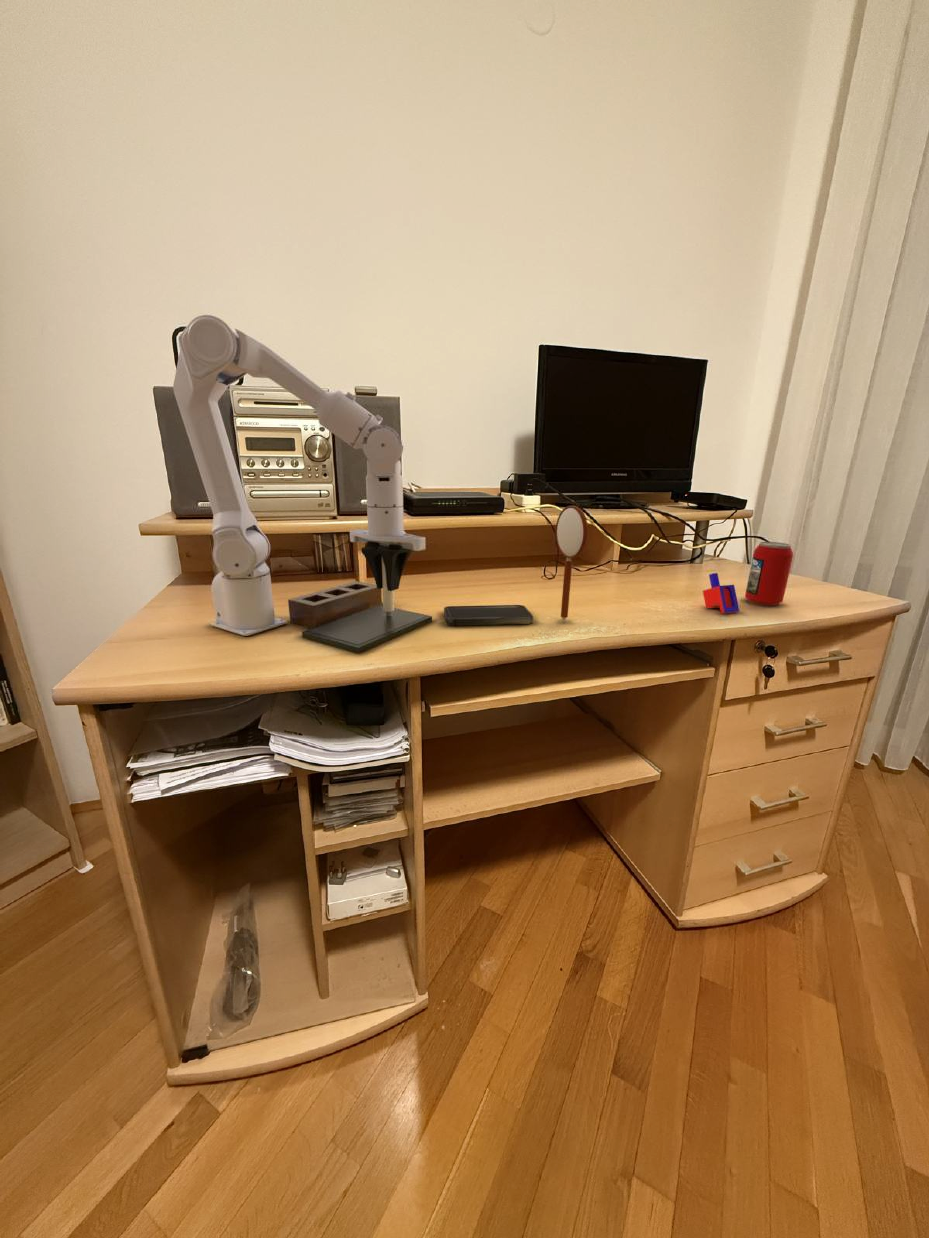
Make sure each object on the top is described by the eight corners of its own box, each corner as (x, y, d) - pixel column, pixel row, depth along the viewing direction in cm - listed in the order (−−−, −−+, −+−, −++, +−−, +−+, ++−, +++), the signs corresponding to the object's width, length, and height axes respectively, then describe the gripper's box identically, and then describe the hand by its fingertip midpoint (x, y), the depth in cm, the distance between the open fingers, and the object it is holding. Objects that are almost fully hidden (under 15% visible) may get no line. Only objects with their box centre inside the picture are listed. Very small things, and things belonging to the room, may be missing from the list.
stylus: (381, 616, 84) (379, 552, 80) (388, 613, 85) (386, 551, 82) (389, 618, 83) (387, 553, 79) (396, 615, 84) (394, 552, 81)
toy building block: (722, 615, 96) (714, 576, 97) (739, 611, 92) (731, 570, 93) (707, 616, 95) (699, 577, 96) (724, 612, 91) (716, 571, 92)
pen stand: (289, 622, 83) (287, 599, 82) (357, 600, 96) (356, 580, 95) (315, 629, 80) (314, 605, 79) (382, 606, 93) (381, 585, 92)
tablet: (302, 637, 76) (301, 631, 76) (379, 609, 91) (379, 604, 91) (358, 654, 70) (358, 647, 70) (432, 621, 85) (432, 615, 84)
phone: (443, 606, 89) (523, 604, 91) (443, 612, 90) (523, 610, 92) (447, 619, 82) (534, 617, 84) (447, 626, 82) (534, 623, 84)
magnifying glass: (547, 615, 89) (554, 503, 83) (555, 614, 90) (563, 503, 84) (573, 630, 82) (583, 508, 75) (581, 629, 82) (593, 508, 76)
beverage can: (746, 596, 105) (757, 540, 101) (783, 601, 101) (796, 543, 97) (741, 603, 99) (753, 544, 96) (780, 609, 96) (794, 548, 92)
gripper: (436, 507, 78) (436, 589, 82) (368, 502, 85) (372, 578, 89) (408, 510, 72) (410, 599, 76) (338, 504, 79) (343, 585, 84)
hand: (388, 588), depth 82 cm, fingers closed on stylus, 2 cm apart
